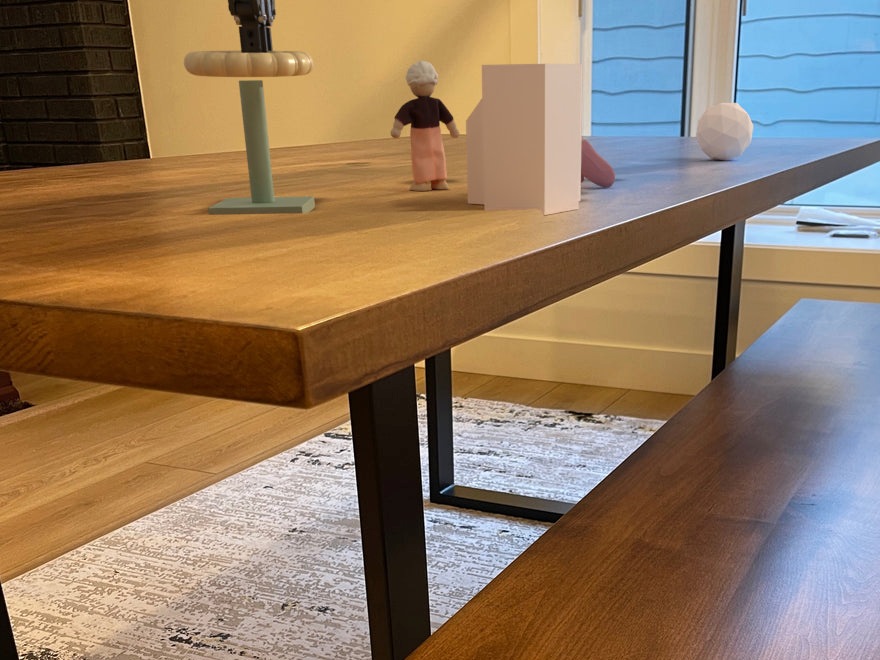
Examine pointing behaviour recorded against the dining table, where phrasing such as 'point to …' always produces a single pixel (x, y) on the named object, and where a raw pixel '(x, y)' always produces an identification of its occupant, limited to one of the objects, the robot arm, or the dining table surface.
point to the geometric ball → (724, 131)
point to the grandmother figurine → (425, 128)
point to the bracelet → (248, 63)
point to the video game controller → (595, 166)
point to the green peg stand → (259, 163)
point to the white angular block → (526, 138)
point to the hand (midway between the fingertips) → (259, 72)
